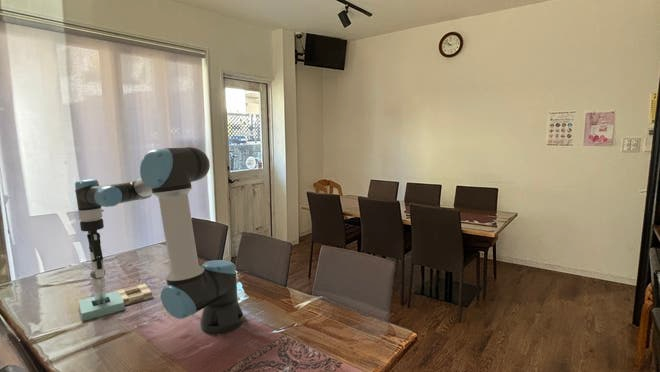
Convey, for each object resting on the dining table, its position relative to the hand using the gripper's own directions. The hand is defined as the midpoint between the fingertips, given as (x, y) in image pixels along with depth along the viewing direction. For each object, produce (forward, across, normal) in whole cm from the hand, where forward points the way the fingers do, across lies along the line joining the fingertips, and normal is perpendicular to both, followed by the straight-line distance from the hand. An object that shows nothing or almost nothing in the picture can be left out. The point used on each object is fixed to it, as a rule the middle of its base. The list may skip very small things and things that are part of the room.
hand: (98, 272), depth 142 cm
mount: (+15, +4, -12) cm, 20 cm away
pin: (+15, +1, 0) cm, 15 cm away
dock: (+15, +1, 0) cm, 15 cm away
